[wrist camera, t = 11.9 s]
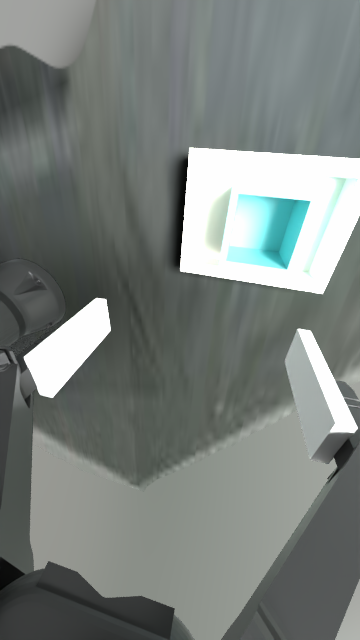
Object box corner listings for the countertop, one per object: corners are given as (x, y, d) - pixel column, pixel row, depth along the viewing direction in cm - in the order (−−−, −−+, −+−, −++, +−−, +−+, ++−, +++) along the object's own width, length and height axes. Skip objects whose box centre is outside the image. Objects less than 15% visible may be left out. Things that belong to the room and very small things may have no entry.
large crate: (186, 261, 35) (180, 270, 32) (197, 152, 28) (189, 147, 24) (313, 281, 32) (322, 293, 29) (363, 163, 25) (384, 160, 21)
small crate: (224, 248, 32) (218, 265, 26) (235, 184, 28) (232, 184, 21) (281, 256, 31) (291, 277, 24) (303, 190, 26) (322, 192, 20)
